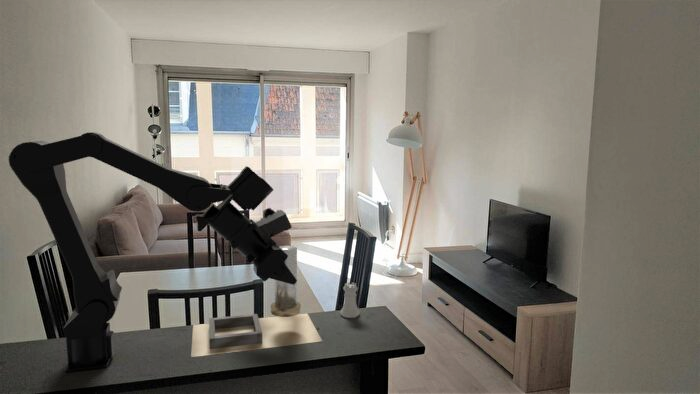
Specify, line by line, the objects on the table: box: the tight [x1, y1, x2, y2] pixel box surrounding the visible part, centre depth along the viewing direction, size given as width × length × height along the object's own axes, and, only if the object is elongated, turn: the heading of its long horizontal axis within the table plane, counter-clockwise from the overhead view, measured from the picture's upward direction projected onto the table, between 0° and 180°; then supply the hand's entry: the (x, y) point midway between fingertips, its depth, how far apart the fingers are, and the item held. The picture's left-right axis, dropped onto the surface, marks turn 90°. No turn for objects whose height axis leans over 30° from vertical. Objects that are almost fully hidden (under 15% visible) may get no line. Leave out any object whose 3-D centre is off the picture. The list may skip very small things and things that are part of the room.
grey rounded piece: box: [270, 245, 302, 317], centre depth 91 cm, size 6×6×13 cm
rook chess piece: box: [340, 281, 361, 319], centre depth 101 cm, size 4×4×8 cm
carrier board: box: [190, 313, 323, 358], centre depth 91 cm, size 24×14×3 cm, turn 107°
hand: (292, 279), depth 92 cm, fingers closed on grey rounded piece, 4 cm apart
